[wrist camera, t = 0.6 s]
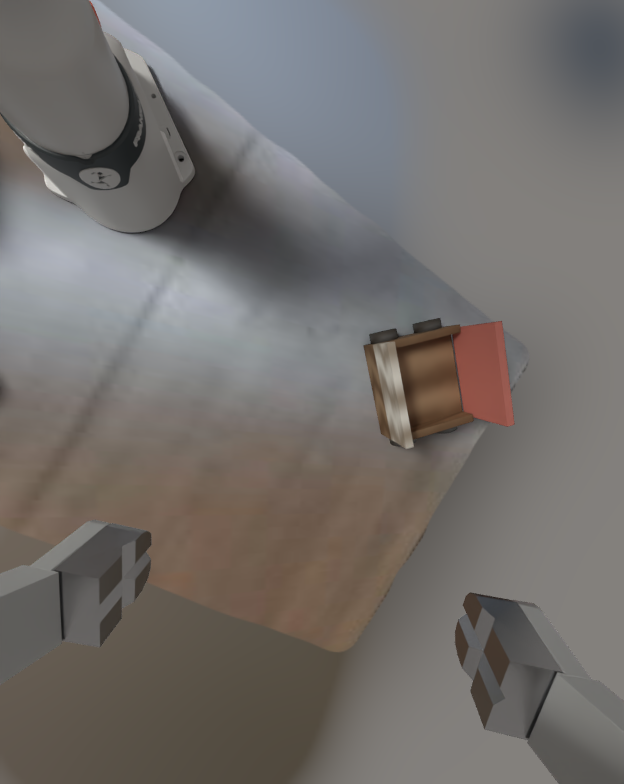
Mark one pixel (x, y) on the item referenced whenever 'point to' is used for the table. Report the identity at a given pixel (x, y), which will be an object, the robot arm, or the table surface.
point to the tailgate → (484, 372)
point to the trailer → (415, 382)
